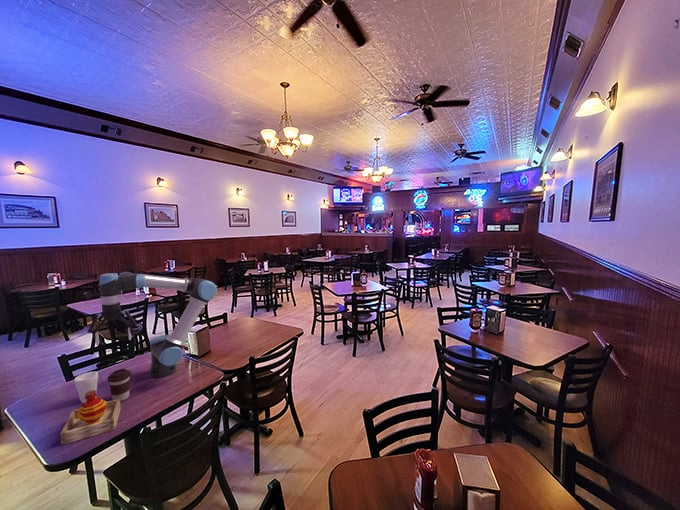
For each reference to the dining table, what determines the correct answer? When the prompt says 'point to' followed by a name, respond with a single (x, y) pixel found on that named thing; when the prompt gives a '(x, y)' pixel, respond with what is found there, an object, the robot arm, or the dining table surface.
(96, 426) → the tray
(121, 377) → the coffee cup
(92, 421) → the potion bottle
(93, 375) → the foam cup
